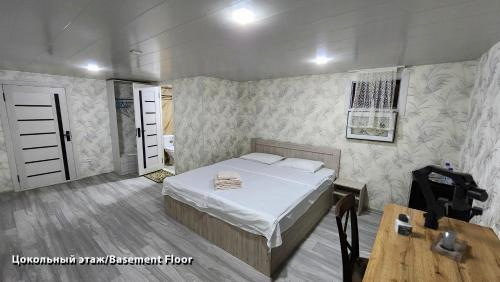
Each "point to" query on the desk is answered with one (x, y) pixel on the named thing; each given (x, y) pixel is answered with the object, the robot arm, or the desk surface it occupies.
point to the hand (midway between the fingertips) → (456, 219)
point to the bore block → (455, 255)
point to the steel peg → (448, 240)
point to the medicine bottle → (403, 225)
